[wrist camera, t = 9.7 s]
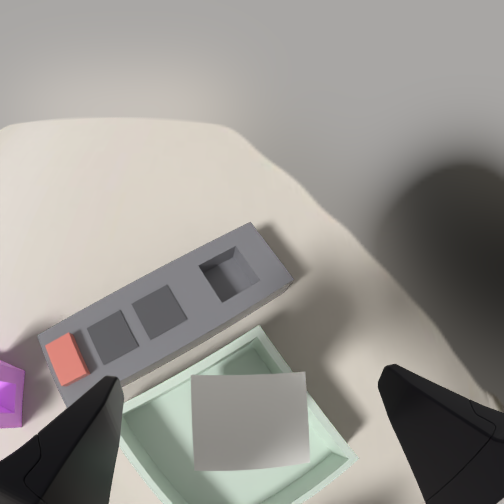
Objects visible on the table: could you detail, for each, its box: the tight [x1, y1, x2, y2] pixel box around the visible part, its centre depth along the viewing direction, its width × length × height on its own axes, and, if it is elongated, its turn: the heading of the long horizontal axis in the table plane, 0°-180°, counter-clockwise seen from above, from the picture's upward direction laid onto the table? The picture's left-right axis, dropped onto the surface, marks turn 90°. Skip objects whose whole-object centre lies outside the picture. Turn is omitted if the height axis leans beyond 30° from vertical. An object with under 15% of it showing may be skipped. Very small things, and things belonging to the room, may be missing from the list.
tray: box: [119, 325, 359, 504], centre depth 16 cm, size 13×13×4 cm
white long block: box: [191, 372, 310, 471], centre depth 14 cm, size 4×4×11 cm
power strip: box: [37, 222, 294, 408], centre depth 20 cm, size 20×6×4 cm, turn 125°
